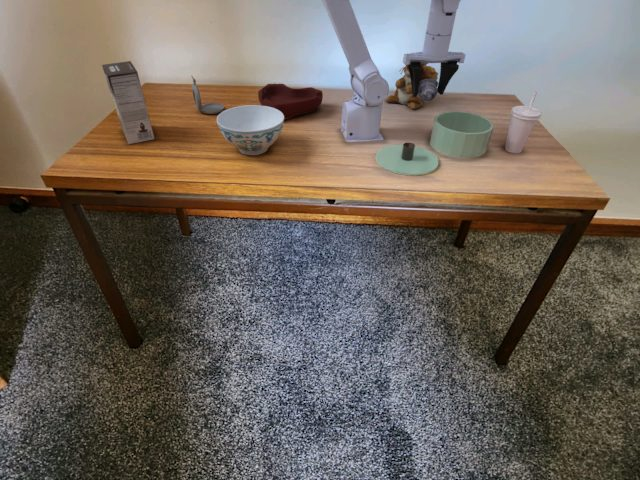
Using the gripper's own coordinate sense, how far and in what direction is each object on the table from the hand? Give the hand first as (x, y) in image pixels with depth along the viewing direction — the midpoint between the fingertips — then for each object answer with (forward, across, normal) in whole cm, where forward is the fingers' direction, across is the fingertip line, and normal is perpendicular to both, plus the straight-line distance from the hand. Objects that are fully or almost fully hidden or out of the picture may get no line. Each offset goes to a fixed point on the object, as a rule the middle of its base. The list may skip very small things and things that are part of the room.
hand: (427, 93), depth 98 cm
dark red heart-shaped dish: (+10, +34, -16) cm, 39 cm away
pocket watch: (+10, +56, -20) cm, 60 cm away
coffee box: (+10, +72, -6) cm, 72 cm away
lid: (+9, +10, +17) cm, 21 cm away
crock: (+9, -5, +11) cm, 15 cm away
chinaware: (+10, +44, +5) cm, 45 cm away
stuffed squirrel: (+10, -4, -20) cm, 23 cm away
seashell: (+2, 0, 0) cm, 2 cm away
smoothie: (+10, -18, +14) cm, 25 cm away
